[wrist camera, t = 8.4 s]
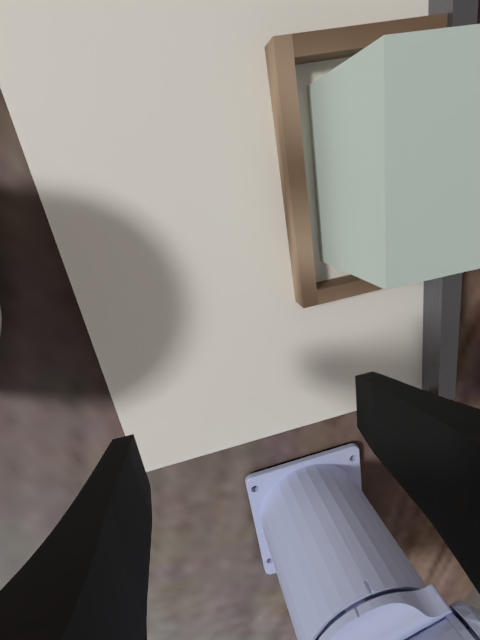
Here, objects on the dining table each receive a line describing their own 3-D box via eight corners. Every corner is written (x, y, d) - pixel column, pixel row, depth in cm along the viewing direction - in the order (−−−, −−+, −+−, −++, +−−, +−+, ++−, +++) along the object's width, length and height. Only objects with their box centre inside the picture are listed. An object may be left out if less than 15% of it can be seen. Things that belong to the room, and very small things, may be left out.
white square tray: (433, 379, 25) (459, 397, 23) (139, 464, 22) (137, 493, 20) (448, -89, 16) (492, -131, 14) (-41, -45, 13) (-78, -90, 11)
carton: (320, 260, 19) (386, 289, 14) (306, 86, 16) (383, 34, 11) (410, 241, 20) (506, 262, 15) (412, 72, 17) (535, 17, 12)
